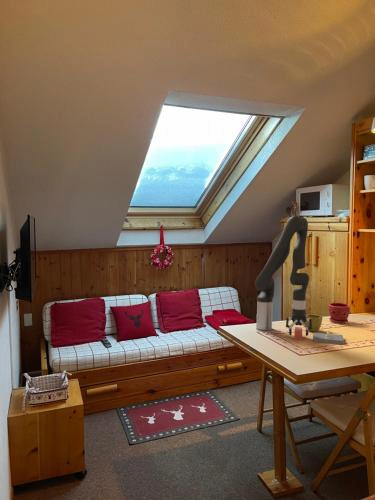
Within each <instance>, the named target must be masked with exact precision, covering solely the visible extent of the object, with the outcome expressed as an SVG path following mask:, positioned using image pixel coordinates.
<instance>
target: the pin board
mask: <svg viewBox="0 0 375 500" xmlns="http://www.w3.org/2000/svg"><path fill="white" fill-rule="evenodd" d="M343 335H344V334H338V333H337V334H336V333H330V330H329V329H327V330H326V333H322V332H312V342H314V343H325V344H336V345H345V339H344V336H343Z"/></svg>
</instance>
